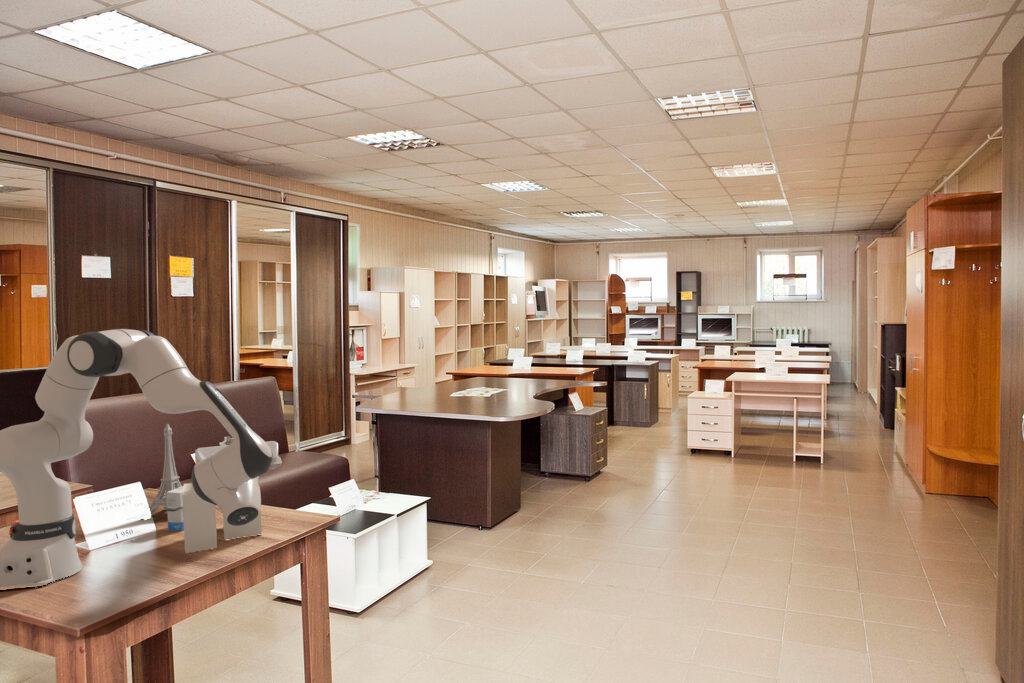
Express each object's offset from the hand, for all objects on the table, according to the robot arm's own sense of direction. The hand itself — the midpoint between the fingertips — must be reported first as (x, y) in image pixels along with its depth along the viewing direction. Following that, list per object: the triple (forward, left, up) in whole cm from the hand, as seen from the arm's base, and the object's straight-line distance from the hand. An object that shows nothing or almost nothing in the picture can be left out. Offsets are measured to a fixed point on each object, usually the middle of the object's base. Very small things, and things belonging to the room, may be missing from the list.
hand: (236, 437), depth 182 cm
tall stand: (+1, +21, -32) cm, 38 cm away
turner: (0, +8, -4) cm, 9 cm away
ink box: (-15, +35, -32) cm, 49 cm away
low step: (-10, +15, -32) cm, 36 cm away
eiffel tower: (-19, +52, -32) cm, 64 cm away
